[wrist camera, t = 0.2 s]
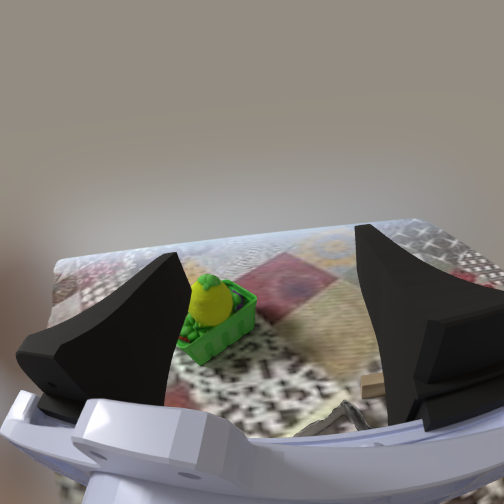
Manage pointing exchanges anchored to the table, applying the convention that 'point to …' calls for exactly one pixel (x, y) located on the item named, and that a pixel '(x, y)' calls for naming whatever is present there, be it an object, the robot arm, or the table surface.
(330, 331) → the table surface
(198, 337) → the fruit basket
